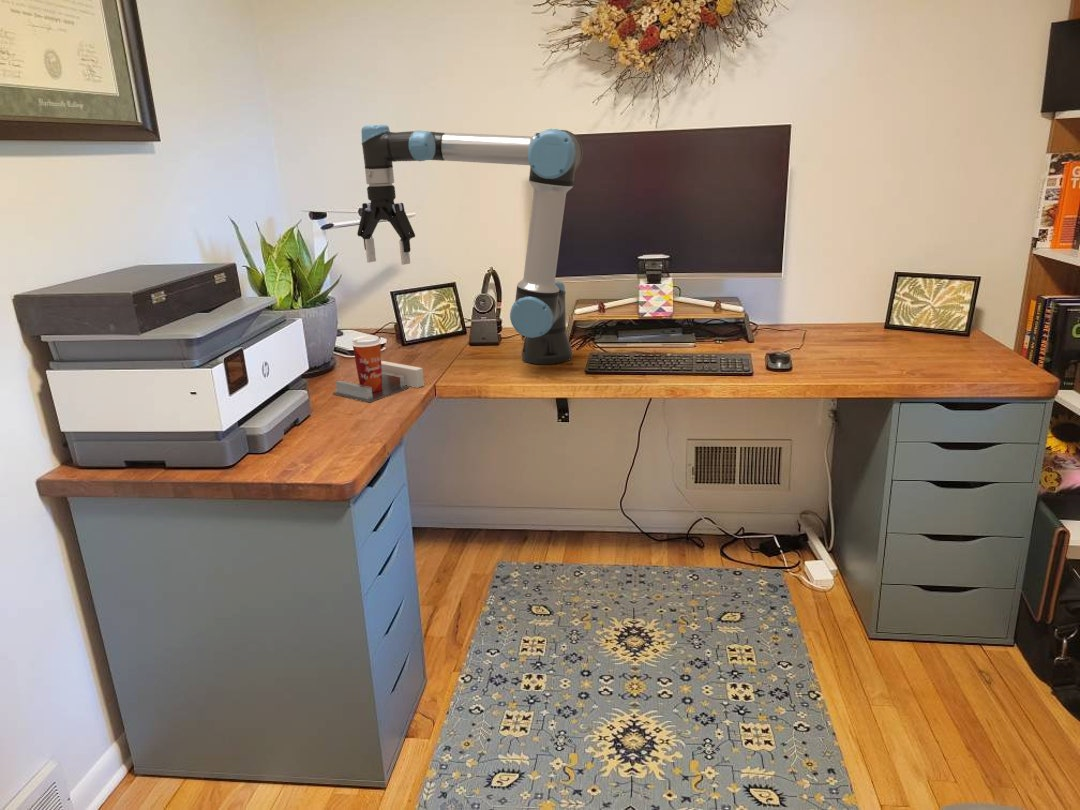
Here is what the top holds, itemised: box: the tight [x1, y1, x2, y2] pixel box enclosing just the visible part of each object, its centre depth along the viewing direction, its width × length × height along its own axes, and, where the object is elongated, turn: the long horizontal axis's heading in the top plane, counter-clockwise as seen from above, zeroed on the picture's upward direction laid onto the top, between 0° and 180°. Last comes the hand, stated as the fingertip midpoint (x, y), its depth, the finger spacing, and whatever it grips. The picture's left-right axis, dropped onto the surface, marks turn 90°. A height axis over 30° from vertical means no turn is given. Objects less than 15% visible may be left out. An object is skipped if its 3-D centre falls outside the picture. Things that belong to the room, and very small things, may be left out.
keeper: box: [332, 372, 410, 403], centre depth 204 cm, size 14×14×4 cm
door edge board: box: [381, 360, 425, 389], centre depth 211 cm, size 18×2×5 cm, turn 54°
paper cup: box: [351, 335, 382, 393], centre depth 202 cm, size 8×8×14 cm
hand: (388, 263), depth 217 cm, fingers open, 13 cm apart
